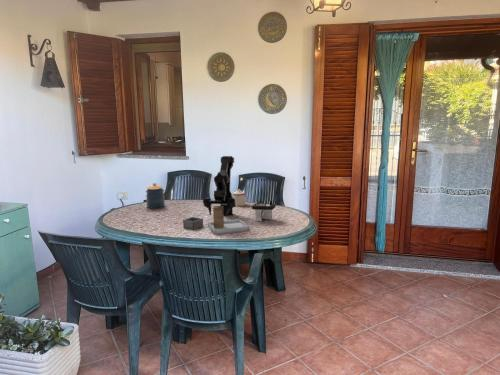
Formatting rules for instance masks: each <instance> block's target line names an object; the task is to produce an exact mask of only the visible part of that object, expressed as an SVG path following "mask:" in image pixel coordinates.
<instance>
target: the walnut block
mask: <svg viewBox="0 0 500 375" xmlns="http://www.w3.org/2000/svg"><path fill="white" fill-rule="evenodd" d="M212 211H213V217H212V218H213V222H214V228H223V226H224V221H225V220H224V215H223V206H220V205H214V206H213V208H212Z"/></svg>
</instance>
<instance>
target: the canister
mask: <svg viewBox="0 0 500 375" xmlns="http://www.w3.org/2000/svg"><path fill="white" fill-rule="evenodd" d="M163 188H164V187H163V186H162V185H159V184H157V183H156V182H154V183H153V182H152V185H148V186H147V187H146V191H145V192H146V195H145V198H146V208H148V209H160V208H163V207H165V206H166V202H165V194H164V192H165V190H164V189H163Z"/></svg>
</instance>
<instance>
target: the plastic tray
mask: <svg viewBox="0 0 500 375" xmlns="http://www.w3.org/2000/svg"><path fill="white" fill-rule="evenodd" d="M207 228H209V230H210V231H211V232H212V233H213V234H214V235H217V236H218V235H225V234H234V233H241V232H249V231H250V226H249V225H248V224H246V223H245V222H244V221H243V220H241V219H240V218H239V219H229V220H224V226H223V228H214V221H210V222H207Z"/></svg>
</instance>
